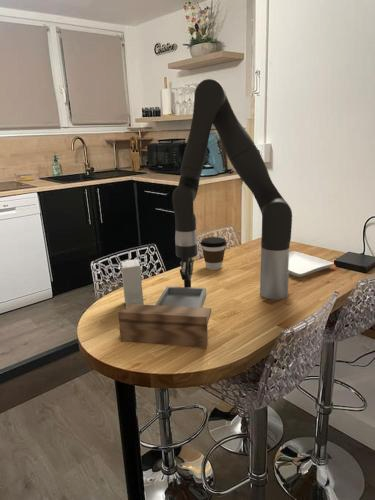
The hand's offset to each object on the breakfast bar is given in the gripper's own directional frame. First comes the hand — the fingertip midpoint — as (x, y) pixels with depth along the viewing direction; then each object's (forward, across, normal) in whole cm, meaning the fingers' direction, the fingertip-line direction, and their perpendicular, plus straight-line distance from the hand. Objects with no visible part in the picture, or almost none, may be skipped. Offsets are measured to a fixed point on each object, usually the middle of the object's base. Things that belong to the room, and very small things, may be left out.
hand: (187, 288), depth 137 cm
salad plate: (+2, +31, -40) cm, 50 cm away
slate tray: (+1, -12, 0) cm, 12 cm away
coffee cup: (+1, +27, -6) cm, 28 cm away
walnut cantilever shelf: (+1, -31, 0) cm, 31 cm away
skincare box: (+1, -13, +16) cm, 21 cm away
